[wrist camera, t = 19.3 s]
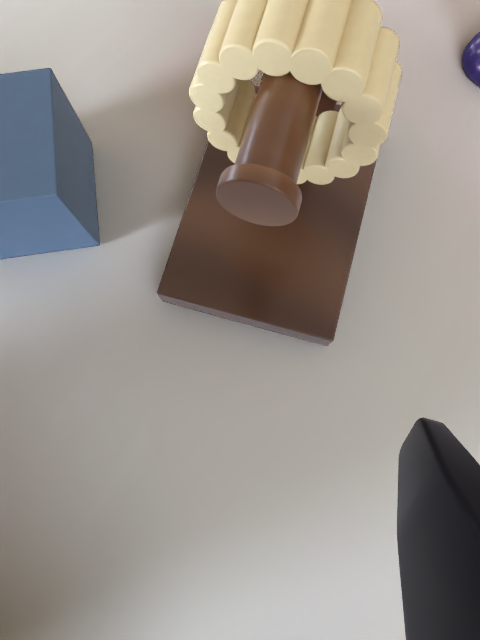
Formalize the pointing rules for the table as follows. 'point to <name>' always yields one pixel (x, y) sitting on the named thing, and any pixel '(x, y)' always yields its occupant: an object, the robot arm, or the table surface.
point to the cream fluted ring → (302, 76)
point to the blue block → (43, 169)
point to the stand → (269, 224)
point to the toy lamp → (472, 59)
